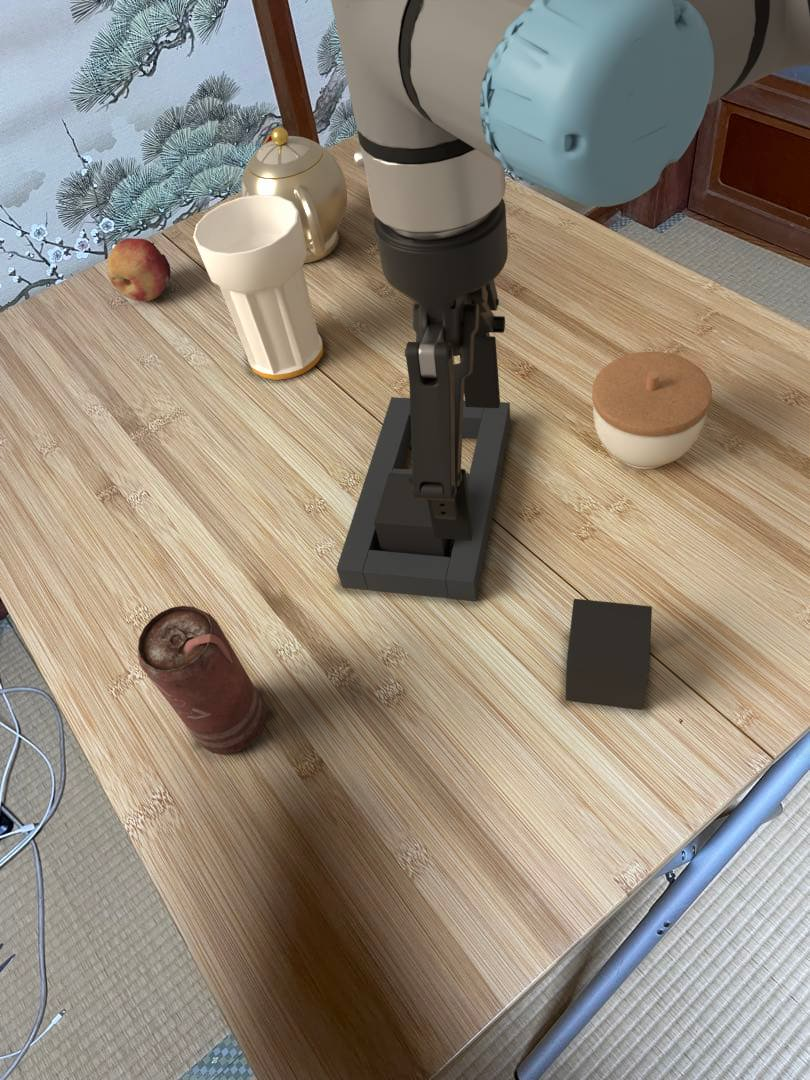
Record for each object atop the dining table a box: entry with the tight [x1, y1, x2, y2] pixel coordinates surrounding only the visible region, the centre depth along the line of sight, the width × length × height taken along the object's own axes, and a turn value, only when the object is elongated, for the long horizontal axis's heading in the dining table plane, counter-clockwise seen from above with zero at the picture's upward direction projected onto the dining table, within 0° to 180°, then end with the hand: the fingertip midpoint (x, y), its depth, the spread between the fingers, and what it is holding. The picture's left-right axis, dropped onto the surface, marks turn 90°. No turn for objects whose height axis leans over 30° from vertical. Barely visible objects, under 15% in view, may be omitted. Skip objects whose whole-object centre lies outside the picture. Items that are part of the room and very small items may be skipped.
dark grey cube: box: [374, 473, 454, 557], centre depth 77 cm, size 6×6×6 cm
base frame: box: [336, 396, 512, 602], centre depth 82 cm, size 13×23×3 cm, turn 168°
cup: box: [192, 194, 324, 381], centre depth 93 cm, size 11×11×17 cm
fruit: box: [106, 237, 172, 302], centre depth 109 cm, size 8×8×8 cm
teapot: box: [240, 126, 348, 264], centre depth 107 cm, size 18×14×16 cm
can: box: [137, 605, 267, 756], centre depth 65 cm, size 6×6×14 cm
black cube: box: [565, 598, 653, 711], centre depth 66 cm, size 6×6×6 cm
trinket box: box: [591, 351, 713, 470], centre depth 80 cm, size 11×11×9 cm
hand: (469, 466), depth 63 cm, fingers open, 13 cm apart
